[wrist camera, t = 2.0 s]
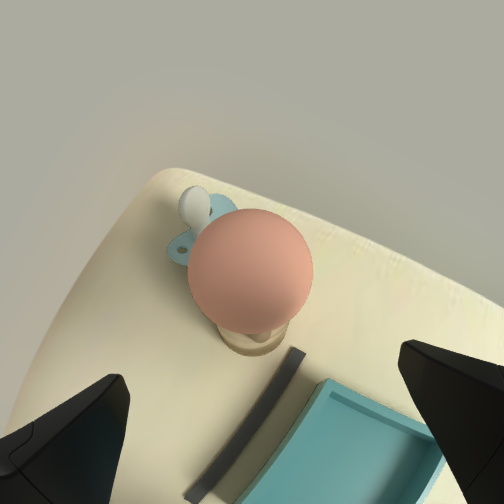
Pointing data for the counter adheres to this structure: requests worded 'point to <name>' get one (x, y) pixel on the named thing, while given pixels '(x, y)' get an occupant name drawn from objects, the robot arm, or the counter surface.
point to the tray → (348, 455)
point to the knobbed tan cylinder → (253, 341)
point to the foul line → (247, 428)
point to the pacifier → (197, 218)
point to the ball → (250, 271)
